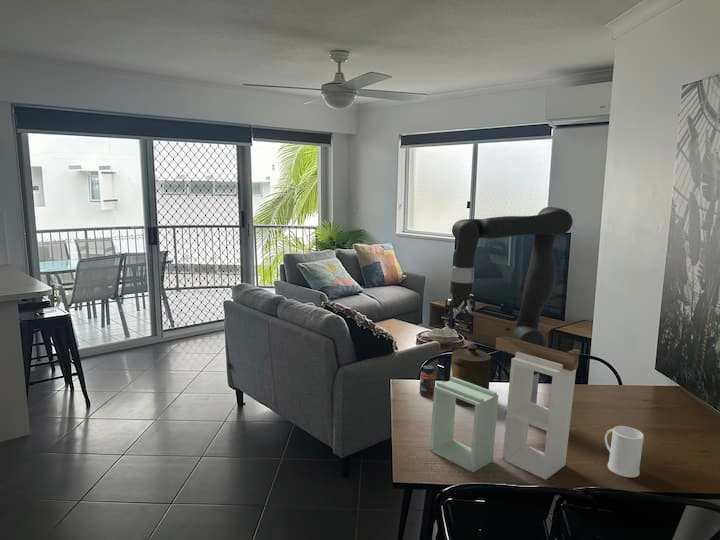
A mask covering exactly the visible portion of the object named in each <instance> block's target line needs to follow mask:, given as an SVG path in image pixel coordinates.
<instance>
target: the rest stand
mask: <svg viewBox="0 0 720 540" xmlns="http://www.w3.org/2000/svg"><path fill="white" fill-rule="evenodd" d="M432 397H433V399H432V414H431V416H432V417H431V427H430V429H431V430H430V443H429V444H430V446H429V450H430V452H432V453H434V454H436V455H438V456H440V457H442V458H443V459H446V460H448V461H449V462H452V463H454V464H455V465H458V466H460V467H462V468H463V469H465V470H467V471H470V472H471V473H475V472H477V471H478V470H480V469H482V468H483V467H485V466H486V465H488V464H490V463H492V462H493V460H494V449H495V447H494V446H495V438H496V428H497V427H496V426H497V417H498V416H497V414H498V405H499V403H498V402H499V394H498V393H497V392H496V391H494V390H490V389H489V390H488V389H485V388H483V387H480V386H477V385H474V384H472V383H469V382H466V381H463V380H461V379H458V378H455V377H450V376H449V380H447V381H445V382H440V381H437V382H435V386H434V396H432ZM456 398H458V399H461V400H463V401H466V402H468V403H471V404H473V405H475V407H474V414H473V415H474V416H473V427H472V429H473V430H472V440H471V446H470V447H469V446H467V445H465V444H463V443H461V442H459V441H457V440H455V439H454V431H455V430H454V428H455V416H456V405H457V404H456Z"/></svg>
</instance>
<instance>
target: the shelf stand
mask: <svg viewBox="0 0 720 540" xmlns="http://www.w3.org/2000/svg"><path fill="white" fill-rule="evenodd" d="M514 356H515V357H512V358H511V361H510V362H511V363H510V371H509V372H510V374H509V383H508V384H509V385H508V395H507V403H506V404H507V406H506V418H505V427H504V429H505V430H504V437H503V439H504V440H503V449H502V457H501V458H502V459H501V460H503V461H504V462H507V463H509V464H511V465H512V466H516V467H517V468H520V469H522V470H523V471H527V473H530V474H532V475H534V476H536V477H539V478H540V479H543V480H545V481H546V480H548V479H549V478H551V476H553V475H554V474H556V473H557V472H559V470H561V469H563V467H565V466H566V463H567V453H568V444H569V435H570V427H571V419H572V411H573V409H572V408H573V399H574V393H575V383H576V382H575V381H576V376H577V375H576V374H577V369H575V370H573V371H568V370H565V369H563V365H562V364H559V363H556V362H552V361H549V360H545V359H542V358H538V357H535V356H531V355H528V354H524V353H521V352H516V354H515V355H514ZM534 371H537V372H539V374H540V373H541V374H543V375H546V376H547V375H548V376H550V377H552V378H551V379H552V380H551V387H550V388H551V389H550V397H549V407H545V406H543V405H540V404H538V403H536V404H535V403H532V402H531V396H532V386H533V376H534ZM529 425H531V426H534V427H536V428H538V429H541V430H543V431H546V437H545V445H544V451H540V450H538V449H536V448H533V447H531V446H529V445H527V444H528V435H529Z"/></svg>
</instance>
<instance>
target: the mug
mask: <svg viewBox="0 0 720 540" xmlns="http://www.w3.org/2000/svg"><path fill="white" fill-rule="evenodd" d="M610 433H612V436H611V444H610V445H609V442H608V435H609V434H610ZM644 437H645V435H644V434H643V432H641V431H640V430H639V429H636V428H633V427H631V426H625V425H618V426H614V427H613V428H611V429H609V430H607V431H606V432H605V433H604V445H605V447H606V449H607V450H608V451H609V458H608V462H607V468H608V470H610V471H611V473H614V474H615V475H618V476H620V477H623V478H637V477H639V476H640V475H641V474H640V473H641V471H640V468H641V467H640V465H641V460H642V459H641V458H642V451H643V446H644V445H643V444H644Z"/></svg>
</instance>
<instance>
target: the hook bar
mask: <svg viewBox="0 0 720 540" xmlns="http://www.w3.org/2000/svg"><path fill="white" fill-rule="evenodd" d="M495 350H498V351H501V352H504V353H508V354H512V355H514V356H515V354H516V352H521V353H524V354H528V355H531V356H535V357H538V358H542V359H545V360H549V361H552V362H556V363H559V364H562V365H563V369H565V370H568V371H573V370H575V369H576V370H577V369H578V367H579V359H580V349H578V348H577V349H576V348H573V349H571V350H568V351H567V352H564V351H561V350H558V349H553V348H550V347H547V346H545V347H543V346H539V345H536V344H532V343H528V342H524V341H521V340H517V339H513V337H509V336H505V335H502V336H499V337H496V339H495Z"/></svg>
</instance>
